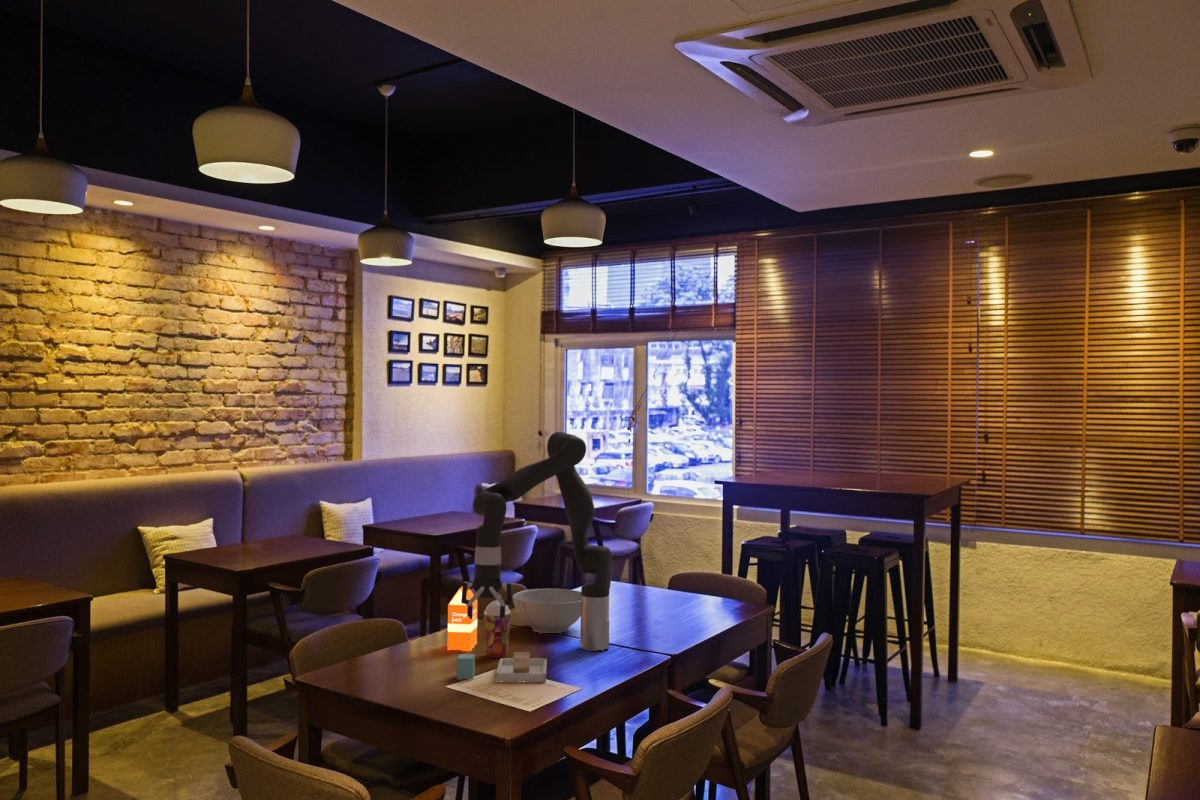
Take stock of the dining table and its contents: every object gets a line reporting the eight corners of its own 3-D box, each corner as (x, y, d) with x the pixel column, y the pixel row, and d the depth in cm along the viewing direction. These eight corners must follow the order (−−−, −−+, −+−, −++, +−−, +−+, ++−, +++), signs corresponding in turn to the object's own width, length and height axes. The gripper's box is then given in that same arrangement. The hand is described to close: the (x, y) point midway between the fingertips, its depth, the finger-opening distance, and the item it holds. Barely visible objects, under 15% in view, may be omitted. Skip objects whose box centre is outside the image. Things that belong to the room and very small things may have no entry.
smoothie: (494, 650, 282) (495, 588, 282) (515, 654, 278) (516, 591, 278) (477, 656, 275) (478, 592, 275) (499, 660, 270) (500, 595, 271)
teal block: (474, 675, 255) (474, 654, 255) (472, 679, 251) (473, 658, 251) (458, 675, 255) (459, 654, 255) (456, 679, 251) (457, 658, 251)
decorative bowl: (499, 635, 302) (500, 600, 302) (528, 618, 327) (529, 586, 328) (573, 642, 294) (574, 606, 294) (597, 624, 320) (597, 591, 320)
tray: (546, 666, 265) (546, 658, 265) (545, 682, 249) (545, 673, 249) (500, 666, 264) (500, 658, 264) (495, 682, 248) (495, 673, 248)
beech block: (529, 677, 250) (529, 656, 251) (513, 677, 250) (513, 656, 250) (529, 673, 255) (529, 652, 255) (513, 673, 255) (514, 652, 255)
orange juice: (477, 644, 290) (478, 583, 290) (470, 651, 281) (471, 588, 281) (453, 643, 290) (455, 582, 291) (446, 650, 282) (447, 587, 282)
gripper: (461, 563, 248) (459, 621, 248) (512, 564, 249) (510, 622, 249) (464, 559, 256) (462, 616, 255) (513, 560, 257) (511, 616, 256)
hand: (486, 618), depth 252 cm, fingers open, 8 cm apart
